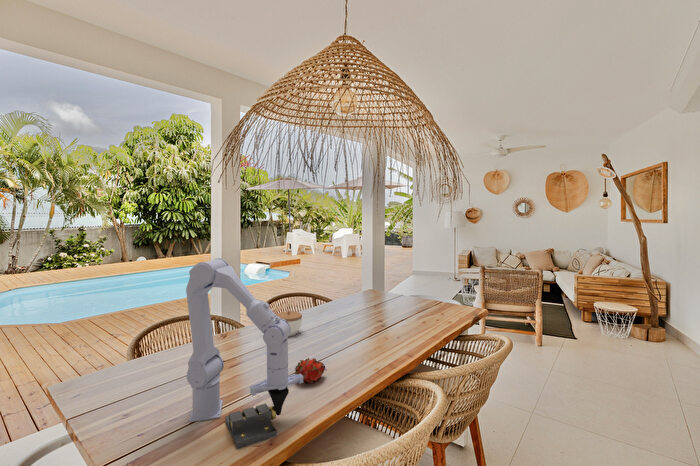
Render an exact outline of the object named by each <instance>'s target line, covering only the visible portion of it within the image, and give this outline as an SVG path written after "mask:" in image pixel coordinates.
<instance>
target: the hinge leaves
mask: <svg viewBox="0 0 700 466" xmlns="http://www.w3.org/2000/svg"><path fill="white" fill-rule="evenodd" d="M269 407H270V406H268V404H267V403H262V404H259V405H256V406H255V407H254V406H252V407H247V408H244V409H242V411H240V410H237V411H233V412H229V413H228V415H225V418H224V419H225V424H226V426H227V429H228V432H229V434H230V436H231V438H232V440H233V443H234V446H235V449H237V450H239V449H242V448H244V447H248V446H251V445H253V444H257V443H260V442H263V441H265V440H268V439H273V438H275V437H277V435H278V434H277V433H278V431H277V429H276V427H275V425H274V424H273V423H272V420H271V410H270V409H269ZM258 412H259V414H260V415H258V414H257V413H258ZM244 416H245V417H246V419H244V418H243V417H244ZM230 421H231V422H232V430H231V426H230Z"/></svg>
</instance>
